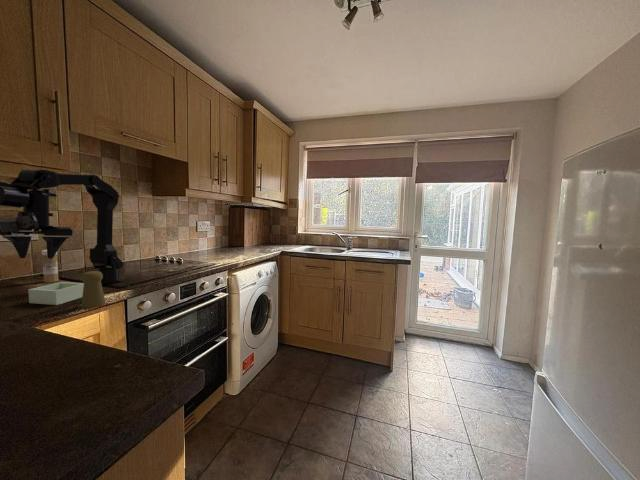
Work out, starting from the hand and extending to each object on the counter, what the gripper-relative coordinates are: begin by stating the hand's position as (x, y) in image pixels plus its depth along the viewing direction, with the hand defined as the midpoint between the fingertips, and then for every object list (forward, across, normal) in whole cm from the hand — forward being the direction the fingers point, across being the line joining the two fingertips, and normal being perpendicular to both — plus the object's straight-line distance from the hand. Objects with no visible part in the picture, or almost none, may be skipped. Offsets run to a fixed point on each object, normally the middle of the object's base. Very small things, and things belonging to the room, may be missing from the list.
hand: (36, 258), depth 84 cm
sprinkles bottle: (+13, -24, +27) cm, 38 cm away
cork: (+15, +17, +2) cm, 23 cm away
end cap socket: (+14, +1, +6) cm, 16 cm away
